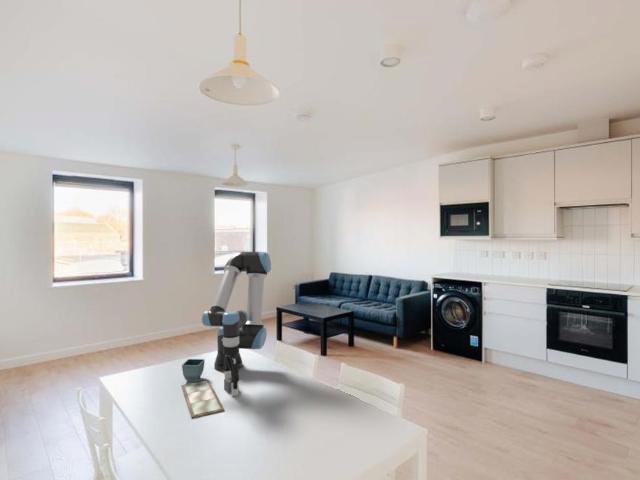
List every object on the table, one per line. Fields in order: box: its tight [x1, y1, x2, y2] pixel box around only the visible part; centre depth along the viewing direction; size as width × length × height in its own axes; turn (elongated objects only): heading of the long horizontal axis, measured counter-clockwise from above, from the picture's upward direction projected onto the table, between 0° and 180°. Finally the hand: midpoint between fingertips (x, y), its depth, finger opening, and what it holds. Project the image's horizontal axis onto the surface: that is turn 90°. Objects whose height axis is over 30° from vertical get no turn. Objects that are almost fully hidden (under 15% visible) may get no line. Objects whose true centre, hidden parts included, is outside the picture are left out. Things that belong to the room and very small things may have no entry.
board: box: [181, 380, 225, 419], centre depth 163 cm, size 13×34×1 cm, turn 27°
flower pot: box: [181, 358, 205, 382], centre depth 183 cm, size 9×9×9 cm
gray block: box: [223, 376, 232, 394], centre depth 171 cm, size 5×5×5 cm
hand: (231, 389), depth 171 cm, fingers open, 13 cm apart
